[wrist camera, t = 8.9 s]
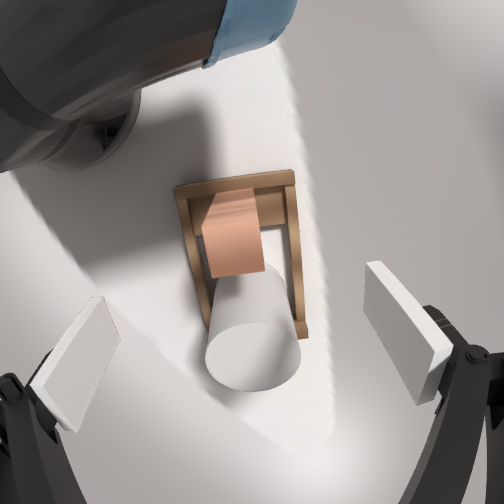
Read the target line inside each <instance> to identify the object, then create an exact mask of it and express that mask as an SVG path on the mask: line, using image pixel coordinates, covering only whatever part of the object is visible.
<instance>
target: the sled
mask: <svg viewBox="0 0 504 504" xmlns="http://www.w3.org/2000/svg"><path fill="white" fill-rule="evenodd" d="M173 190H174V195H175V200H176V201H177V205H178V210H179V215H180V220H181V224H182V229H183V234H184V238H185V243H186V247H187V252H188V256H189V260H190V265H191V269H192V273H193V277H194V281H195V285H196V290H197V294H198V297H199V301H200V305H201V309H202V313H203V317H204V321H205V324H206V328H207V332H208V334H209V327H210V320H211V314H212V304H211V300H210V295H209V291H208V287H207V282H206V278H205V273H204V269H203V264H202V260H201V255H200V250H199V246H198V241H197V236H199V235H203V238H204V243H205V248H206V253H207V258H208V263H209V267H210V272H211V277H212V278H218V277H226V276H234V275H241V274H249V273H256V272H264V271H265V265H264V258H263V250H262V243H261V235H260V228H259V227H263V226H270V225H278V224H286V223H287V224H288V234H289V245H290V255H291V266H292V278H293V290H294V303H295V316H292V318H293V322H294V326H295V330H296V334H297V338H298V340H299V339H306V338H308V328H307V325H306V321H305V304H304V287H303V272H302V258H301V245H300V233H299V222H298V211H297V200H296V190H295V175H294V171H293V170H292V169H288V170H280V171H271V172H263V173H256V174H248V175H241V176H234V177H228V178H221V179H215V180H208V181H202V182H196V183H191V184H185V185H179V186H176V187H175V188H174V189H173ZM207 340H208V336H207Z"/></svg>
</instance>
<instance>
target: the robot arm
mask: <svg viewBox="0 0 504 504" xmlns="http://www.w3.org/2000/svg"><path fill="white" fill-rule="evenodd" d="M296 4H297V0H0V173H3V172H6V171H9V170H12V169H16V168H19V167H23V166H26V165H30V164H33V163H39V164H42V165H45V166H48V167H51V168H55V169H59V170H76V169H81V168H84V167H88V166H91V165H94V164H96V163H98V162H100V161H102V160H104V159H105V158H107V157H108V156H110V155H111V154H112V153H113V152H114V151H115V150H116V149H117V148H118V147H119V146H120V145H121V144H122V143H123V141H124V140H125V138H126V137H127V136H128V134H129V132H130V130H131V129H132V127H133V124H134V122H135V120H136V117H137V114H138V110H139V106H140V100H141V89H142V88H144V87H147V86H149V85H152V84H154V83H157V82H159V81H162V80H165V79H167V78H170V77H173V76H176V75H178V74H181V73H184V72H187V71H190V70H193V69H196V68H199V67H201V68H202V69H205V68H209V67H211V66H213V65H215V63H216V62H217V61H219V60H222V59H225V58H228V57H231V56H234V55H237V54H241V53H244V52H247V51H251V50H255V49H258V48H262V47H264V46H266V45H268V44H270V43H272V42H273V41H275V40H276V39H277V38H278V37H279V35H280V34H281V33H282V32H283V31H284V29H285V27H286V25H287V24H288V23H289V21H290V20H291V18H292V16H293V13H294V10H295V7H296ZM364 312H365V314H366V316H367V317H368V319H369V321H370V322H371V324H372V326H373V328H374V329H375V331H376V333H377V334H378V336H379V338H380V339H381V341H382V343H383V345H384V347H385V349H386V350H387V352H388V354H389V356H390V357H391V359H392V361H393V363H394V364H395V366H396V368H397V370H398V372H399V374H400V375H401V378H402V379H403V381H404V383H405V385H406V387H407V388H408V391H409V393H410V394H411V396H412V398H413V400H414V402H415V404H416V406H418V405H420V404H423V403H426V402H429V401H432V400H434V397H435V395H436V393H437V390H439V392H440V394H441V396H442V398H441V400H440V403H439V405H438V407H437V409H436V411H435V414H436V416H435V419H434V422H433V425H432V427H431V430H430V433H429V436H428V439H427V442H426V444H425V447H424V449H423V451H422V454H421V457H420V459H419V461H418V463H417V466H416V468H415V470H414V473H413V475H412V477H411V479H410V481H409V483H408V486H407V488H406V490H405V492H404V494H403V496H402V498H401V500H400V501H399V503H398V504H461V502H462V499H463V497H464V494H465V491H466V488H467V485H468V482H469V478H470V475H471V472H472V469H473V465H474V461H475V458H476V454H477V450H478V446H479V441H480V436H481V432H482V427H483V421H484V416H485V421H486V436H487V483H486V484H487V485H486V499H485V504H504V352H502V353H493V354H489V352H488V351H487V350H486V349H485V348H483V347H481V346H478V345H469V344H468V343H467V341H466V340H465V339H464V338H463V337H462V336H461V334H460V333H459V332H458V331H457V330H456V329H455V327H454V326H453V325H451V323H450V322H449V321H448V319H446V317H445V316H444V315H443V314H442V313H441V312H440V311H439V310H438V309H436V308H434V307H432V306H431V305H428V306H424V307H421V305H420V304H419V303H418V302H417V301H416V300H415V299H414V297H413V296H412V295H411V294H410V293H409V292H408V291H407V289H406V288H405V287H404V286H403V285H402V284H401V283H400V282H399V281H398V280H397V278H396V277H395V276H394V275H393V274H392V273H391V272H390V271H389V270H388V269H387V268H386V266H385V265H384V264H383V263H382V262H381V261H373V262H367V263H366V269H365V295H364ZM119 341H120V336H119V334H118V331H117V329H116V327H115V324H114V322H113V319H112V317H111V315H110V312H109V310H108V307H107V305H106V302H105V299H104V297H103V296H102V297H92V298H91V299H90V300H89V302H88V303H87V304H86V305H85V307H84V308H83V309H82V311H81V312H80V313H79V315H78V316H77V317H76V319H75V320H74V321H73V323H72V324H71V325H70V327H69V328H68V330H67V331H66V332H65V334H64V335H63V336H62V338H61V339H60V341H59V342H58V344H57V345H56V346H55V348H53V349H52V350H51V351H50V352H49V353H48V354H47V355H46V356H45V357H44V359H43V360H42V362H41V364H40V365H39V366H38V369H36V371H35V372H34V374H33V375H32V377H31V378H30V380H29V381H28V383H27V384H26V386H25V387H24V386H23V385H22V384H21V382H20V381H19V379H18V378H17V376H16V375H15V374H14V373H7V374H4V375H2V376H1V377H0V398H1V399H2V400H1V401H0V439H1V442H0V504H87V503H86V501H85V499H84V496H83V494H82V492H81V490H80V487H79V485H78V483H77V481H76V478H75V476H74V474H73V471H72V469H71V466H70V464H69V461H68V458H67V456H66V453H65V450H64V447H63V444H62V441H61V438H60V436H59V432H58V431H57V429H56V428H55V425H56V423H57V422H58V423H59V424H60V426H61V427H62V428H63V429H64V430H66V431H72V432H78V431H79V428H80V426H81V423H82V421H83V419H84V416H85V414H86V411H87V409H88V407H89V405H90V403H91V400H92V398H93V396H94V393H95V392H96V389H97V387H98V385H99V383H100V381H101V378H102V376H103V374H104V372H105V370H106V368H107V366H108V364H109V362H110V360H111V358H112V356H113V354H114V352H115V349H116V347H117V345H118V343H119Z"/></svg>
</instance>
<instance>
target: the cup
mask: <svg viewBox="0 0 504 504" xmlns="http://www.w3.org/2000/svg"><path fill="white" fill-rule="evenodd" d="M264 265H265V271H264V272H256V273H249V274H241V275H234V276H226V277H219V278H218V280H217V283H216V289H215V295H214V301H213V307H212V314H211V320H210V327H209V334H208V340H207V347H206V354H205V362H206V366H207V369H208V371H209V372H210V374H211V375H212V376H213V377H214V378H215V379H216V380H217V381H218V382H220V383H221V384H223V385H225V386H227V387H229V388H232V389H235V390H239V391H245V392H258V391H265V390H269V389H272V388H275V387H277V386H279V385H281V384H283V383H285V382H286V381H287V380H289V379H290V378H291V377H292V376H293V375H294V374H295V372H296V371H297V369H298V367H299V365H300V361H301V351H300V347H299V343H298V338H297V334H296V330H295V326H294V322H293V318H292V314H291V310H290V306H289V302H288V298H287V294H286V290H285V286H284V282H283V279H282V277H281V275H280V274H279V272H278V271H277V270H276V269H275V268H273V267H272V266H271V265H269V264H267V263H265V262H264Z"/></svg>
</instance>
